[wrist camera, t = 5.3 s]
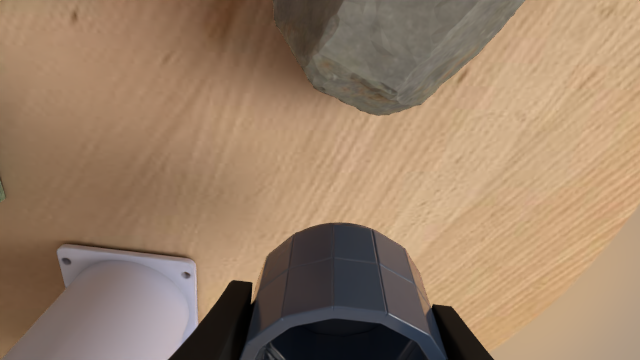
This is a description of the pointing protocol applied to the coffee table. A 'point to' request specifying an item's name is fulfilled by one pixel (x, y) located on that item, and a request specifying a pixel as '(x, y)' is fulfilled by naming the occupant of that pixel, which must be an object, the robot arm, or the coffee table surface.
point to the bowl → (340, 300)
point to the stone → (387, 45)
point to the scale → (2, 192)
